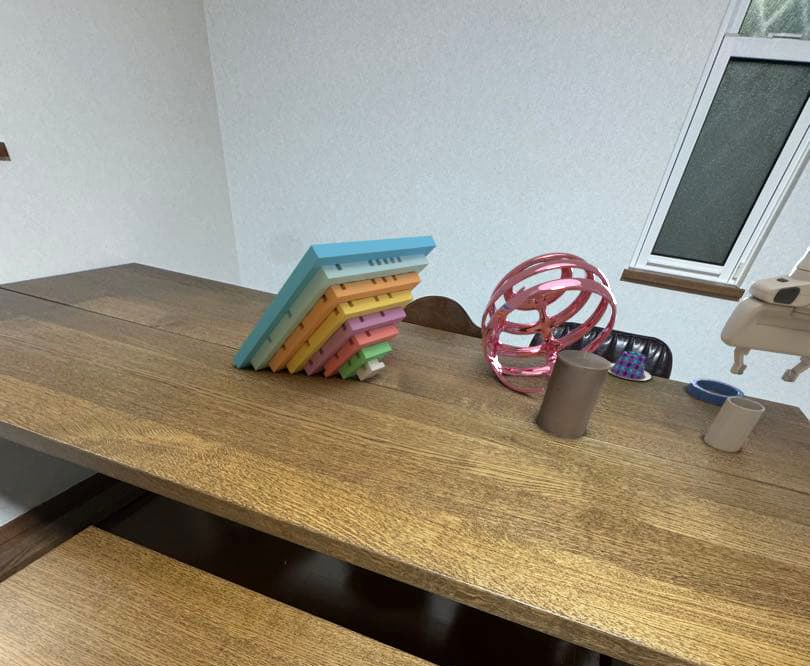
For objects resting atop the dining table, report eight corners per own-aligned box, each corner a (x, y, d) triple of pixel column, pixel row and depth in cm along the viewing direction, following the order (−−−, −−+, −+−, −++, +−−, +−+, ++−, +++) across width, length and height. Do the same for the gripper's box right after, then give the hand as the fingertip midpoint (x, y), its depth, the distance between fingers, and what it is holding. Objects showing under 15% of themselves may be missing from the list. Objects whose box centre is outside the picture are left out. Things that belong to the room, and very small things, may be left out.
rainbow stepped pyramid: (277, 431, 100) (368, 347, 74) (232, 359, 97) (311, 244, 71) (375, 389, 123) (471, 314, 97) (341, 330, 120) (431, 235, 94)
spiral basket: (652, 326, 80) (621, 207, 87) (494, 350, 83) (475, 233, 89) (604, 409, 107) (583, 313, 114) (485, 424, 110) (472, 330, 116)
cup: (728, 440, 94) (754, 399, 88) (743, 455, 89) (772, 413, 83) (697, 436, 94) (721, 394, 88) (710, 451, 89) (736, 408, 83)
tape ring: (725, 391, 117) (730, 382, 115) (747, 411, 108) (753, 401, 106) (679, 385, 117) (683, 375, 116) (697, 404, 108) (702, 394, 106)
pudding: (653, 375, 121) (662, 355, 118) (645, 387, 113) (654, 366, 110) (609, 362, 126) (617, 343, 122) (598, 373, 118) (605, 353, 114)
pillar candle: (529, 415, 93) (552, 340, 84) (574, 418, 95) (601, 344, 85) (544, 438, 86) (570, 358, 76) (592, 441, 87) (624, 363, 78)
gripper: (864, 297, 76) (807, 378, 85) (742, 280, 76) (699, 363, 85) (891, 307, 71) (828, 392, 80) (761, 288, 71) (713, 375, 80)
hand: (761, 377), depth 82 cm, fingers open, 8 cm apart
